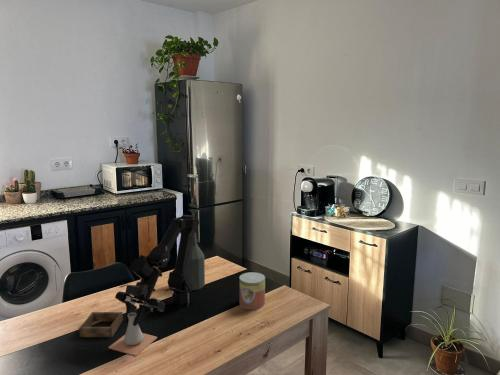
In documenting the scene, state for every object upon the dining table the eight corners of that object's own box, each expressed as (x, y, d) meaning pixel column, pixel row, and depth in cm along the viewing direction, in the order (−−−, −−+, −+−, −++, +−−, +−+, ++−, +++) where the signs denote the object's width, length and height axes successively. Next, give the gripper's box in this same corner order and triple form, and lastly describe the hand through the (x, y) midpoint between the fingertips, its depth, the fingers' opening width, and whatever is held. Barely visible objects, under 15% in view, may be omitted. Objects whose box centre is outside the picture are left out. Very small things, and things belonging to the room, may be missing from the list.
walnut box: (122, 320, 152) (122, 312, 152) (112, 337, 140) (111, 328, 140) (93, 320, 152) (92, 312, 152) (79, 336, 140) (79, 328, 140)
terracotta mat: (131, 331, 144) (131, 330, 144) (157, 337, 140) (157, 336, 140) (108, 348, 133) (108, 347, 133) (136, 356, 129) (136, 355, 129)
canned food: (235, 306, 164) (235, 280, 162) (245, 295, 174) (245, 270, 172) (259, 311, 160) (259, 284, 158) (268, 299, 170) (268, 274, 168)
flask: (142, 332, 141) (140, 307, 140) (145, 342, 135) (144, 316, 133) (121, 337, 138) (120, 312, 136) (124, 347, 132) (123, 321, 130)
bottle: (202, 290, 179) (201, 229, 173) (182, 290, 179) (180, 229, 173) (205, 281, 189) (204, 223, 183) (186, 281, 189) (184, 223, 184)
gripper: (116, 270, 139) (96, 312, 131) (158, 278, 133) (140, 323, 125) (131, 282, 148) (113, 322, 140) (172, 290, 141) (156, 332, 133)
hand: (130, 324), depth 134 cm, fingers closed on flask, 3 cm apart
